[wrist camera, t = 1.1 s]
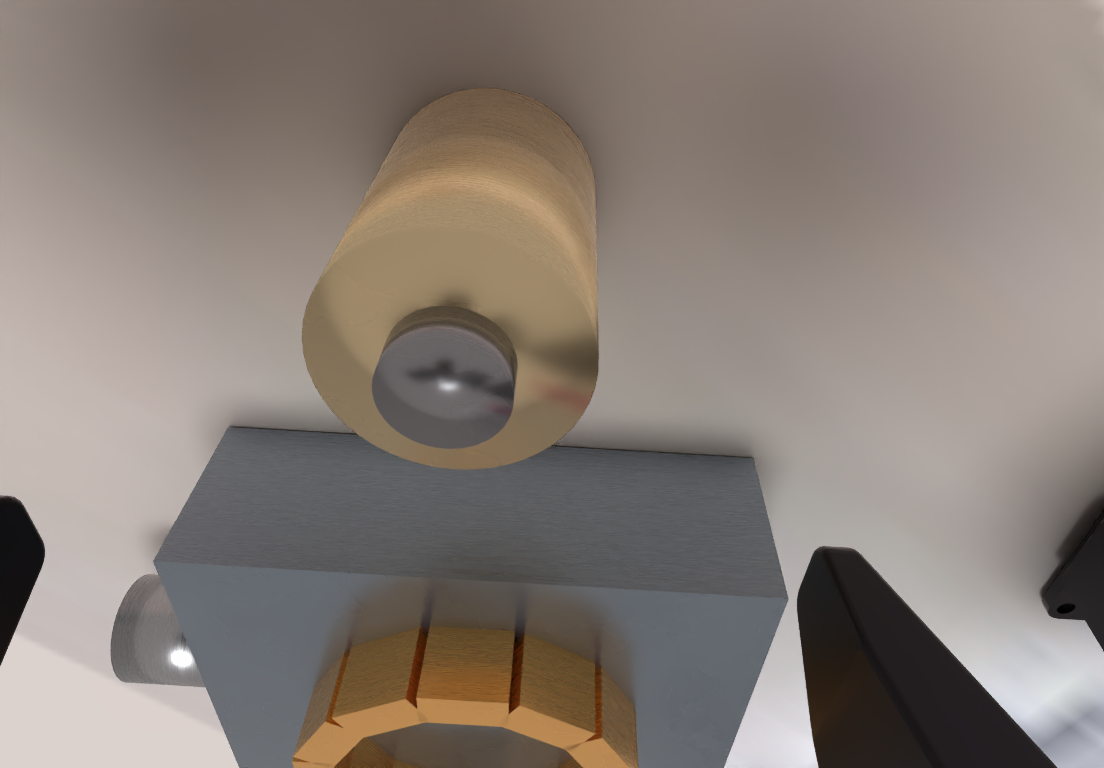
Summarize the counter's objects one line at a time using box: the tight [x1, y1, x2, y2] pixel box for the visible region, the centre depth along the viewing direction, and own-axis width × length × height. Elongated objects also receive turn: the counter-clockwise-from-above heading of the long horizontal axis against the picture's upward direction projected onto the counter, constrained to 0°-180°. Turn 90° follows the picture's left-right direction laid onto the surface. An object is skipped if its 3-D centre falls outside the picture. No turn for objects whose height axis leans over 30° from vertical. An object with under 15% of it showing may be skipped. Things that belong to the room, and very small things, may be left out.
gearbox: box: [111, 427, 788, 768], centre depth 22 cm, size 17×12×6 cm
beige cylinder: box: [302, 88, 599, 469], centre depth 13 cm, size 4×4×7 cm
